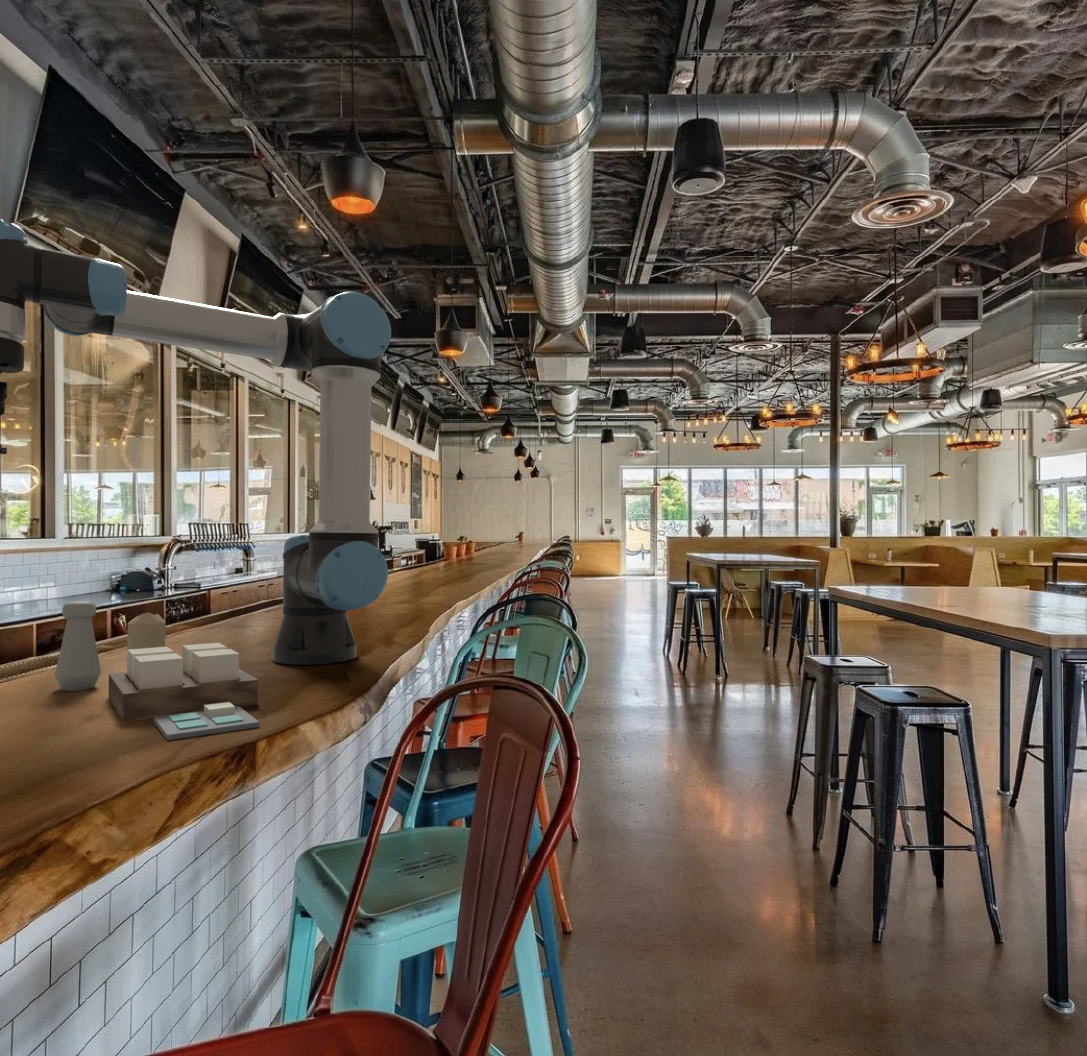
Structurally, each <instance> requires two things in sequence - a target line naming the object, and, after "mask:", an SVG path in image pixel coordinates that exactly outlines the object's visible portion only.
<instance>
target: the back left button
mask: <svg viewBox="0 0 1087 1056" xmlns="http://www.w3.org/2000/svg"><path fill="white" fill-rule="evenodd" d="M221 649H228V646H225V644H222V643H220V642H212V643H211V642H210V643H199V644H186V645H185V644H184V645H181V657H182V658H183V672H184V673H185V674H187V675H192V652H196V651H208V650H221Z"/></svg>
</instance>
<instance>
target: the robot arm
mask: <svg viewBox="0 0 1087 1056" xmlns="http://www.w3.org/2000/svg"><path fill="white" fill-rule="evenodd" d="M26 302H31V303H34V304H40V305H42V308H43V309H44V310H43V311H44V315H45V318H46V319H47V321H48V322H49V324H50V325H51V326H52V327H53V328H54V329H55V330H56V331H58V332H60V333H62V334H63V335H67V336H72V337H81V336H85V335H89V334H94V335H102V336H113V337H117V338H123V339H132V340H136V341H144V342H151V343H158V344H163V345H164V344H165V345H170V346H178V347H184V348H192V349H197V350H204V351H210V352H217V353H218V352H219V353H223V354H230V355H237V356H243V357H249V358H257V359H262V360H263V359H264V360H269V362H271V363H272V365H273V366H275V367H277V368H285V369H292V370H297V371H304V372H310V373H311V374H312V375H313V377H314V378H315V379H316V380H317V381H318V383H319V384H320V397H319V398H320V401H319V402H320V406H319V407H320V409H319V412H320V413H319V415H320V416H319V464H318V465H319V469H318V470H319V472H318V477H319V478H318V521H317V522H316V523H315V524H314V525H313V527H311V528H310V529H309V530H308V533H307V534H299V535H293V536H291V537H288V538H287V539H286V540H285V542H284V545H283V552H282V560H283V572H282V573H283V574H282V575H283V576H282V577H283V579H282V580H283V581H282V584H283V585H282V590H283V591H282V592H283V593H282V603H283V604H282V619H281V620H282V621H281V622H280V626H279V629H278V631H277V635H276V638H275V640H274V643H273V646H272V649H271V650H272V651H271V652H272V653H271V654H272V655H271V656H272V657H271V659H272V661H273V662H274V663H278V664H283V665H297V666H298V665H300V666H301V665H305V666H307V665H310V666H311V665H326V664H327V665H328V664H335V663H336V664H337V663H344V662H347V661H351V660H353V659H356V658H357V642H356V640H355V637H354V633H353V631H352V627H351V624H350V621H349V617H348V611H354V610H360V609H364V608H365V607H368V606H370V605H372V603H374V601H376V600H377V599H378V598H379V597H380V595H382V593H383V591H384V589H385V587H386V585H387V582H388V578H389V577H388V576H389V568H388V564H387V560H386V558H385V556H384V554H383V553H382V552H381V551H380V549H379V531H378V529H376V527H374V525H373V524H372V523H371V520H370V515H371V514H370V512H371V511H370V505H371V502H370V499H371V498H370V497H371V440H372V439H371V438H372V437H371V434H372V433H371V432H372V429H371V428H372V426H371V425H372V387H373V385H374V384H376V383H377V381H379V380H380V378H381V367H382V365H381V364H382V361H381V360H382V359H381V358H382V354H384V353H385V352H386V350H387V348H388V346H389V344H390V342H391V337H392V326H391V323H390V319H389V317H388V315H387V313H386V311H385V310H384V309H383V308H382V307H381V306H380V304H379V303H378V302H377V301H376V300H374V299H373V298H371V297H370V296H368V295H366V294H364V293H361V292H358V291H344V292H341V293H339V294H336V295H333V296H330V297H328V298H327V299H326V300H325V301H324V302H323V304H322V305H319V307H318V308H316V309H314V310H313V311H311V312H309V313H305V314H288V313H282V312H278V313H277V314H275V315H274V316H273V317H272V316H268V315H263V314H262V315H261V314H257V313H251V312H246V311H240V310H235V309H230V308H224V307H219V306H214V305H208V304H203V303H198V302H197V303H196V302H191V301H186V300H181V299H176V298H170V297H164V296H158V295H153V294H149V293H142V292H137V291H131V290H128V275H127V271H126V269H125V268H124V266H123V265H121V264H118V263H115V262H111V261H108V260H104V259H101V258H100V257H89V256H85V255H81V254H80V255H79V254H74V253H71V252H70V253H69V252H63V251H58V250H56V249H54V250H53V249H48V248H43V247H40V246H35V245H33V244H29V241H28V239H27V235H26V233H25V231H24V230H23V229H22V228H21V227H19V226H18V225H16V224H14V223H11V222H6V221H4V220H3V219H0V375H1V374H2V373H3V374H17V373H21V372H23V370H24V369H25V346H24V345H23V344H22V342H23V341H25V340H26V308H25V307H26ZM6 399H8V382H5V381H0V501H1V497H2V496H1V495H2V494H1V493H2V492H1V490H2V455H7V454H8V453H7V452H8V448H7V447H3V445H2V444H1V442H2V441H1V439H2V436H1V435H2V434H1V433H2V432H1V430H2V425H1V423H2V419H1V417H2V416H3V415H4V414H5V413H6V412H5V411H6Z"/></svg>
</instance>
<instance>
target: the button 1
mask: <svg viewBox="0 0 1087 1056" xmlns="http://www.w3.org/2000/svg"><path fill="white" fill-rule="evenodd" d="M126 653H127V654H126V658H127V659H126V672H127V676H128V678H129V679H130V680H131V681H134V656H147V655H159V654H171V653H174V650H172V649H171V648H169V647H168V646H165V647H156V648H142V649H129V650H127V651H126Z"/></svg>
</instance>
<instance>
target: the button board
mask: <svg viewBox="0 0 1087 1056" xmlns="http://www.w3.org/2000/svg"><path fill="white" fill-rule="evenodd" d="M258 688H259V679H257V678H256V677H254V676H252V675H251V674H249V673H247V672H245V671H244V670H242V669H241V668H239V679H237V680H228V681H218V682H209V683H199V684H198V683H197V682H195V681H194V680H193V679H192V675H187V674H185V673H184V672H183V685H180V686H171V687H162V688H152V689H143V690H138V689H137V687H136V686H135V685H134V681H131V680H130V679H129V678H128V676H127V671H124V672H115V673H114V672H113V673H108V700H109V701H110V703H111V705H112V706H113V708H114V709H115V711H116V712H117V714H118V716H119V717H120V719H121V720H122V721H121V722H123V723H124V722H132V721H139V720H147V719H153V717H155V716H163V715H171V714H178V713H186V712H194V711H202V710H204V705H208V704H217V703H225V702H230V703H231V704H232V705H234V706H239V707H240V708H242V707H249V706H257V705H259V703H258V700H259V698H258V695H259V694H258V693H259V689H258Z"/></svg>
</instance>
